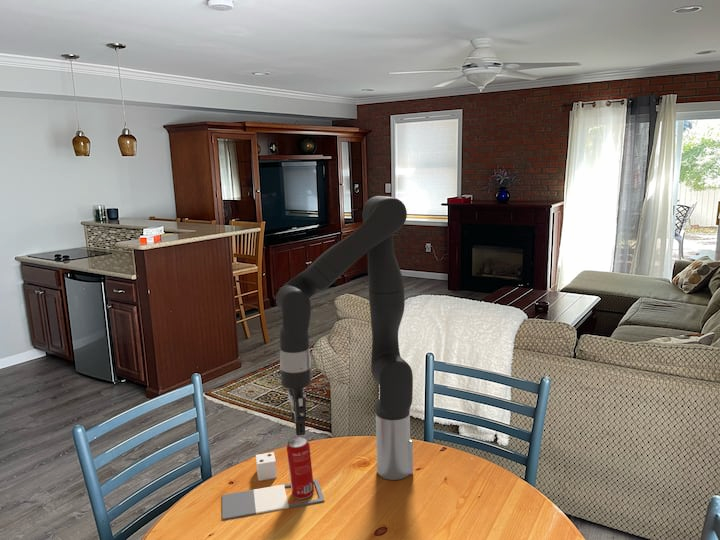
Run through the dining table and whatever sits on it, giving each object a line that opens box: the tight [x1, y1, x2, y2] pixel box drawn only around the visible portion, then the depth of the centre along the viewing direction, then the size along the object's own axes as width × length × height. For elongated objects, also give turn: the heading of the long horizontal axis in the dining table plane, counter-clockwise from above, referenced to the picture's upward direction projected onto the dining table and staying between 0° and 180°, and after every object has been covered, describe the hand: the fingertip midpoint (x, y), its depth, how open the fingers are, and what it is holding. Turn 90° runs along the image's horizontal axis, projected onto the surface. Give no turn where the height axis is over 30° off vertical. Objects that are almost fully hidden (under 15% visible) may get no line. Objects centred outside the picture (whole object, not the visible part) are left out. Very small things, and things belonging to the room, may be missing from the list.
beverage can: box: [286, 435, 315, 500], centre depth 136 cm, size 6×6×15 cm
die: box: [255, 451, 277, 482], centre depth 147 cm, size 5×5×5 cm
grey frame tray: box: [221, 478, 325, 521], centre depth 136 cm, size 25×10×1 cm, turn 105°
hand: (298, 426), depth 134 cm, fingers open, 8 cm apart
